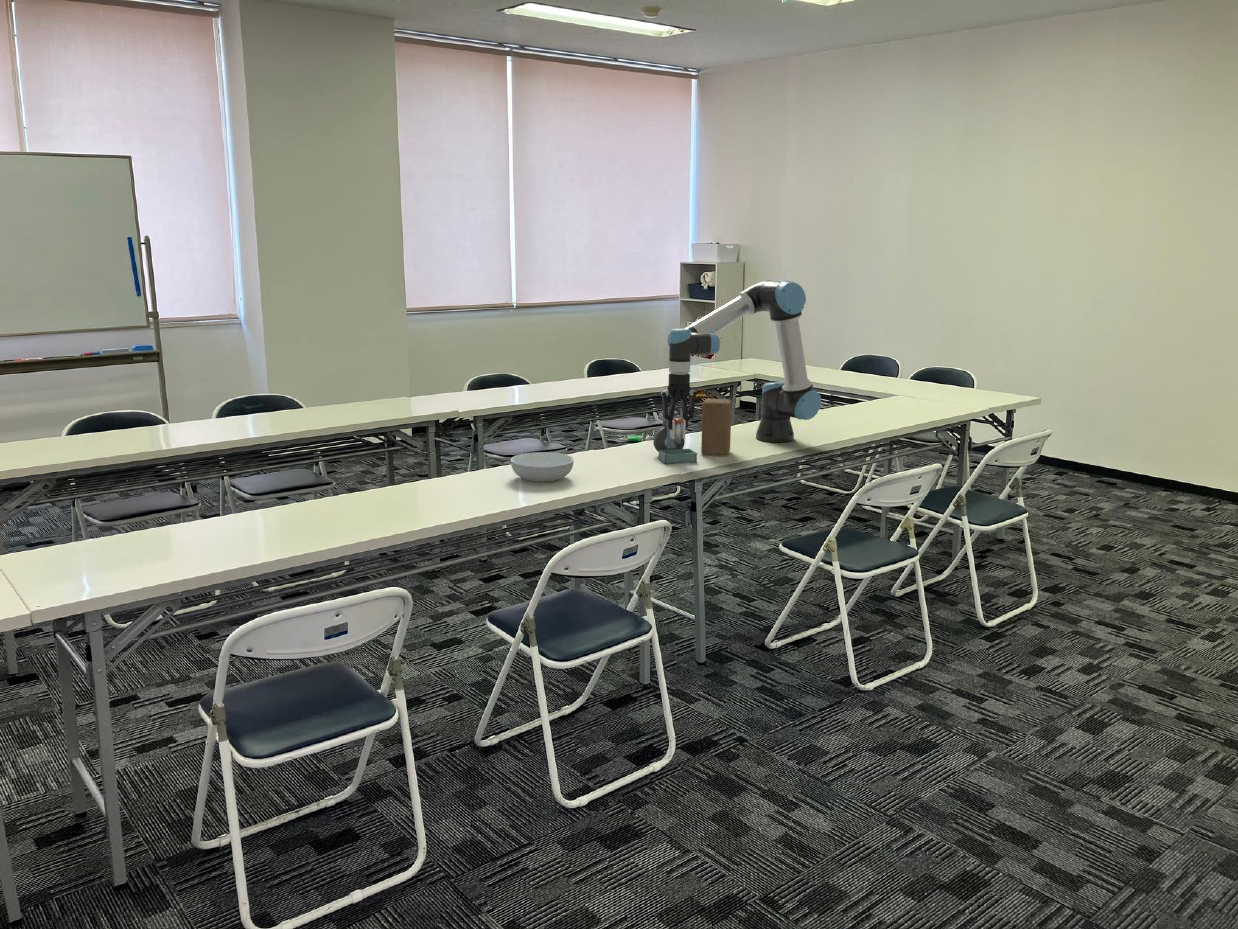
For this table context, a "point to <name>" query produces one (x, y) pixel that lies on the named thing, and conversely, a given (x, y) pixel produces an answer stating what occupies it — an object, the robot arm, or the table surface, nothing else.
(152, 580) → the table surface
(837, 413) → the table surface
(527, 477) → the serving bowl
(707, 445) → the wooden block
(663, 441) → the wheel stand
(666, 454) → the tray
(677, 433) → the stop pin
